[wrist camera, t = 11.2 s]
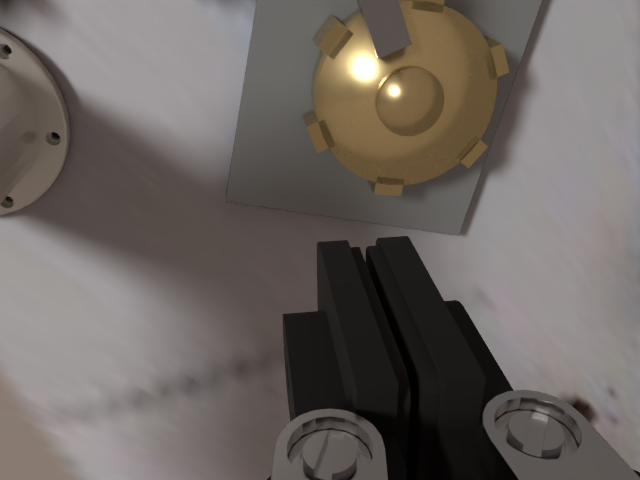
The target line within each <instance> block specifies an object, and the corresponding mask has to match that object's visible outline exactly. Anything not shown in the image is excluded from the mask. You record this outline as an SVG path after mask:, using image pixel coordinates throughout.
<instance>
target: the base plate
mask: <svg viewBox="0 0 640 480" xmlns="http://www.w3.org/2000/svg"><path fill="white" fill-rule="evenodd" d="M541 2H542V0H445V2H444V6H446V7H449V8H451V9H453V10H455V11H457V12H458V13H460V14H462V15H463V16H464V17H466V18H467V19H468V20H469V21H471V22H472V23H473V24H474V25H475V27H476V28H477V29H478V30H479V31H480V32H481V34H482V35H483V37H486V36H487V37H489V38H492V39H494V40H496V41H498V42H501V43H503V47H504V51H505V56H506V60H507V64H508V69H509V73H507V74H504V75H502V76H499V77H497V95H496V101H495V106H494V110H493V113H492V116H491V119H490V122H489V124H488V126H487V128H486V130H485V132H484V134H483V135H482V137H481V139H480V140H481V141H482V142H483V143H485V144H486V145H487V146H488V148H487V149H486V150H485V151H484V152H483V153H482V154H481V155H480V156H479V157H478V159H477V160H476V161H475V162H474V163H473V164H472V165H471V166H470V167H469V169H468V168H467V167H466V166H465V165H464V164H462V163H461V162H459V163H458V164H457V165H455V166H454V167H453V168H451V169H450V170H448V171H446V172H445V173H443V174H441V175H439V176H437V177H435V178H433V179H430V180H427V181H424V182H420V183H416V184H410V185H403V189H402V193H401V196H391V195H380V194H374V193H373V191H372V189H371V187H370V185H369V183H368V182H367V180H366V179H364V178H362V177H360V176H358V175H356V174H355V173H353V172H352V171H350V170H349V169H347V168H346V167H345V166H344V165H343V164H341V163H340V161H339V160H338V159H337V158H336V157H335V156H334V155H333V153H332V152H331V150H330V149H326V150H324V151H322V152H319V153H317V151H316V149H315V147H314V144H313V142H312V140H311V137H310V135H309V132H308V130H307V128H306V125H305V122H304V119H303V116H302V115H303V114H305V113H308V112H310V111H313V105H312V96H311V87H312V77H313V72H314V67H315V64H316V61H317V58H318V55H319V53H320V51H321V49H319V48H318V47H317V46H316V44H315V43H314V41H313V40H312V39H313V38H314V36H315V35H316V34H317V32H318V31H319V29H320V28H321V27H322V25H323V24H324V23H325V21H326V20H327V19H328V17H329V16H330V15H333V16H334V17H335V18H336V19H337V20H339V21H340V22H342V21H343V20H344V19H345V18H347V17H348V16H349V15H350V14H352V13H353V12H355V11H356V10H358V9H359V7H358V4H357V1H356V0H257V3H256V9H255V15H254V22H253V28H252V34H251V41H250V47H249V53H248V60H247V66H246V72H245V79H244V85H243V91H242V98H241V104H240V110H239V117H238V123H237V129H236V136H235V142H234V148H233V154H232V161H231V167H230V173H229V180H228V186H227V192H226V202H233V203H239V204H246V205H253V206H260V207H267V208H274V209H280V210H287V211H294V212H301V213H308V214H314V215H321V216H328V217H335V218H342V219H348V220H355V221H362V222H369V223H376V224H383V225H389V226H396V227H403V228H410V229H417V230H423V231H430V232H437V233H444V234H451V235H457V236H459V233H460V230H461V227H462V224H463V222H464V219H465V216H466V213H467V210H468V208H469V205H470V202H471V199H472V196H473V193H474V191H475V188H476V185H477V182H478V179H479V177H480V174H481V171H482V168H483V165H484V163H485V160H486V157H487V154H488V151H489V148H490V146H491V143H492V140H493V137H494V134H495V132H496V129H497V126H498V123H499V120H500V118H501V115H502V112H503V109H504V106H505V103H506V101H507V98H508V95H509V92H510V89H511V87H512V84H513V81H514V78H515V75H516V73H517V70H518V67H519V64H520V61H521V58H522V56H523V53H524V50H525V47H526V44H527V42H528V39H529V36H530V33H531V30H532V28H533V25H534V22H535V19H536V16H537V13H538V11H539V8H540V5H541Z"/></svg>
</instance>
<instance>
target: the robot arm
mask: <svg viewBox="0 0 640 480" xmlns="http://www.w3.org/2000/svg"><path fill="white" fill-rule="evenodd" d="M5 45H8V46H9V47H10V48H11V51H12V53H8V52H7V51H6V50H5ZM53 132H55V133H57V134H58V135H59V136H60V138H56V137H55V136H54V135H53ZM69 143H70V124H69V116H68V111H67V108H66V105H65V102H64V99H63V96H62V93H61V91H60V90H59V88H58V86H57V84H56V82H55V80H54V78H53V77H52V75H51V74H50V72H49V71H48V70H47V68H46V67H45V66H44V65H43V63H42V62H41V61H40V59H39V58H38V57H37V56H36V55H35V54H34V53H33V52H31V51H30V50H29V49H28V48H27V47H26V46H25V45H24V44H23V43H22V42H21V41H19V40H18V39H16V38H15V37H13V36H12V35H10V34H9V33H7V32H6V31H4V30H3V29H2V28H0V215H4V214H7V213H10V212H14V211H17V210H19V209H21V208H23V207H25V206H27V205H29V204H31V203H33V202H34V201H35V200H36V199H38V198H39V197H40V196H41V195H42V194H44V193H45V192H46V191H47V190H48V189H49V187H50V186H51V185H52V184H53V182H54V181H55V180H56V178H57V176H58V175H59V173H60V171H61V170H62V168H63V166H64V164H65V160H66V157H67V154H68V151H69ZM8 196H9V197H11V198H12V199H9V198H8ZM317 286H318V311H317V312H304V313H292V314H283V335H284V355H285V370H286V382H287V393H288V403H289V412H290V422H289V423H288V424H287V425H286V426H285V428H284V429H283V430H282V431H281V433H280V434H279V436H278V439H277V443H276V446H275V451H274V459H273V468H272V475H271V476H270V477H269V478H268V479H267V480H640V473H639V472H637V471H635V470H633V469H632V468H631V467H630V466H629V465H628V464H627V463H626V462H625V461H624V460H623V459H622V458H621V457H620V455H619V454H618V453H617V452H616V451H615V450H614V449H613V448H612V447H611V446H610V445H609V444H608V442H607V441H606V440H605V439H604V438H603V437H602V436H601V435H600V434H599V433H598V432H597V431H596V429H595V428H594V427H593V426H592V425H591V424H590V423H589V422H588V421H587V420H586V419H585V418H584V416H583V415H581V414H580V413H579V412H578V411H577V410H576V409H574V408H573V407H572V406H571V405H569V404H567V403H566V402H564V401H562V400H560V399H558V398H556V397H554V396H551V395H548V394H545V393H541V392H537V391H528V390H516V391H513V389H512V387H511V386H510V384H509V382H508V381H507V379H506V377H505V376H504V374H503V372H502V370H501V369H500V367H499V365H498V364H497V362H496V360H495V359H494V357H493V355H492V354H491V352H490V350H489V349H488V347H487V345H486V344H485V342H484V340H483V339H482V337H481V335H480V334H479V332H478V330H477V329H476V327H475V325H474V324H473V322H472V320H471V319H470V317H469V315H468V313H467V312H466V310H465V308H464V307H463V305H462V304H461V303H460V302H459V301H456V300H454V301H444V300H443V298H442V297H441V295H440V293H439V291H438V289H437V288H436V286H435V284H434V282H433V280H432V279H431V277H430V275H429V273H428V271H427V270H426V268H425V266H424V264H423V262H422V260H421V259H420V257H419V255H418V253H417V251H416V250H415V248H414V246H413V244H412V242H411V241H410V239H409V237H408V236H402V237H387V238H378V239H377V241H376V246H367V249H366V263H365V260H364V258H363V255H362V253H361V250H360V248H359V247H352V248H350V246H349V243H348V241H347V240H343V241H328V242H318V244H317Z"/></svg>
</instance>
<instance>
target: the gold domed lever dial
mask: <svg viewBox="0 0 640 480" xmlns="http://www.w3.org/2000/svg"><path fill="white" fill-rule="evenodd" d="M356 1H357V4H358V7H359V9H358V10H356V11H355V12H353V13H352V14H350V15H349V16H348V17H347V18H345V19H344V20H343V21H342V22H340V21H339V20H337V19H336V18H335V17H334V16H333V15H330V16H329V17H328V19H327V20H326V21H325V23H324V24H323V25H322V27H321V28H320V29H319V31H318V32H317V34H316V35H315V36H314V38H313V39H312V40H313V41H314V43H315V44H316V46H317V47H318V48H319V49H321V51H320V53H319V55H318V58H317V61H316V64H315V67H314V72H313V77H312V87H311V96H312V105H313V111H310V112H308V113H305V114H303V115H302V116H303V119H304V122H305V125H306V128H307V130H308V132H309V135H310V137H311V140H312V142H313V144H314V147H315V149H316V151H317V153H319V152H322V151H324V150H326V149H330V150H331V152H332V153H333V155H334V156H335V157H336V158H337V159H338V160H339V161H340V163H341V164H343V165H344V166H345V167H346V168H347V169H349V170H350V171H352V172H353V173H355V174H356V175H358V176H360V177H362V178H364V179H366V180H367V182H368V183H369V185H370V187H371V189H372V191H373V193H374V194H380V195H391V196H401V193H402V189H403V185H410V184H416V183H420V182H424V181H427V180H430V179H433V178H435V177H437V176H439V175H441V174H443V173H445V172H446V171H448V170H450V169H451V168H453V167H454V166H455V165H457V164H458V163H459V162H461V163H462V164H464V165H465V166H466V167H467V168H468V169H469V167H470V166H471V165H472V164H473V163H474V162H475V161H476V160H477V159H478V157H479V156H480V155H481V154H482V153H483V152H484V151H485V150H486V149H487V148H488V146H487V145H486V144H485V143H483V142H482V141H481V140H480V139H481V137H482V135H483V134H484V132H485V130H486V128H487V126H488V124H489V122H490V119H491V116H492V113H493V110H494V106H495V101H496V95H497V77H499V76H502V75H504V74H507V73H509V69H508V64H507V60H506V56H505V51H504V47H503V43H501V42H498V41H496V40H494V39H492V38H489V37H487V36H486V37H483V35H482V34H481V32H480V31H479V30H478V29H477V28H476V27H475V25H474V24H473V23H472V22H471V21H469V20H468V19H467V18H466V17H464V16H463V15H462V14H460V13H458V12H457V11H455V10H453V9H451V8H449V7H446V6H444V2H445V0H356Z"/></svg>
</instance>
